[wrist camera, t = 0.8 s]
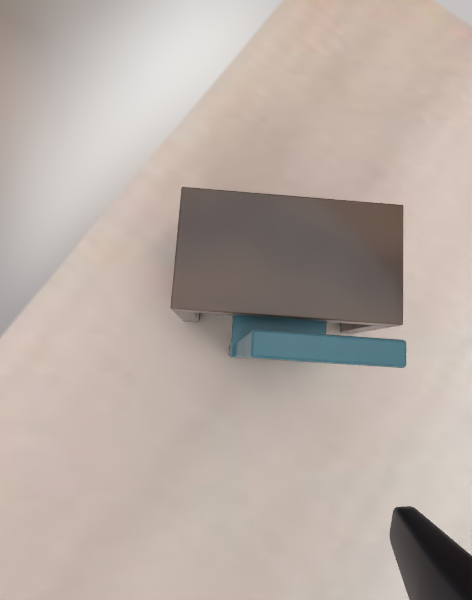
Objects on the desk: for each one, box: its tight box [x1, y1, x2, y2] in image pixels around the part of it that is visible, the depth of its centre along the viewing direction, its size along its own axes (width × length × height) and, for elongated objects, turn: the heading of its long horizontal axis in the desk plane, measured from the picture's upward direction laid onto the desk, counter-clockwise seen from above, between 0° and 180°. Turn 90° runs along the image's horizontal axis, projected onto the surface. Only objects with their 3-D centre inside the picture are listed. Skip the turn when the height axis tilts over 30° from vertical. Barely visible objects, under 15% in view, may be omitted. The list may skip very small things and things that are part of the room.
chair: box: [229, 315, 406, 368], centre depth 18 cm, size 5×5×14 cm
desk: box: [171, 187, 403, 333], centre depth 22 cm, size 6×11×6 cm, turn 86°
